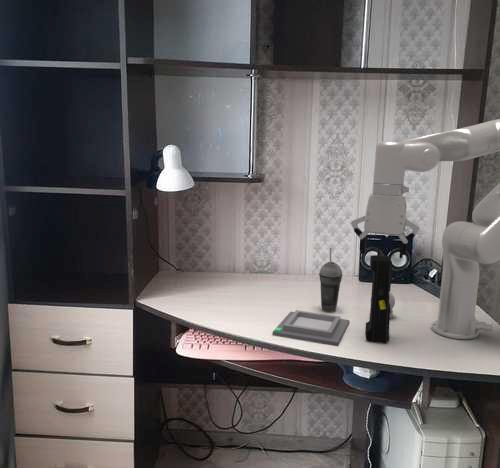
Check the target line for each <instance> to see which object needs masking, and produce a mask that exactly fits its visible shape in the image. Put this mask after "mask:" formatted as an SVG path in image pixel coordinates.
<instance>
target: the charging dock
mask: <svg viewBox="0 0 500 468" xmlns="http://www.w3.org/2000/svg"><path fill="white" fill-rule="evenodd" d="M349 325H350V319H345V318H342V317H341V316H338V315H332V314H325V313H318V312H311V311H303V310H298V309H297V310H296V309H295V311H289V313H288V314H287V315H286V316H285V317H284V318H283V320H282V321H281V322H280V323H279V324H278V325H277V326H276V327H275V328H274V330H273V331H272V336H275V337H279V338H280V337H281V338H286V339H292V340H297V341H298V340H299V341H305V342H309V343H310V342H311V343H317V344H323V345H329V346H335V347H338V346H339V345H340V343H341V341H342V339H343V337H344V334H345V333H346V330H347V328H348V327H349Z"/></svg>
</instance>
